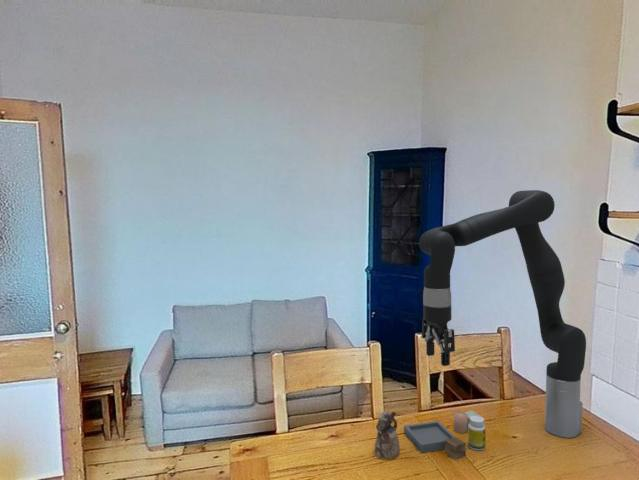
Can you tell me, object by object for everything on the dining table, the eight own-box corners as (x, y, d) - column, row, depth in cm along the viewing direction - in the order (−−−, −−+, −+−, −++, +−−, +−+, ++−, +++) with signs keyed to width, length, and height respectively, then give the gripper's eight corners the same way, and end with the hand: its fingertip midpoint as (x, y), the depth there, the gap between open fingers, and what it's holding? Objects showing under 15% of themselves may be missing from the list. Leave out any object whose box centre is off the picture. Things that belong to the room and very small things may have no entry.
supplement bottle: (486, 451, 132) (486, 423, 131) (468, 450, 133) (469, 422, 132) (483, 443, 137) (484, 415, 136) (467, 441, 138) (467, 414, 137)
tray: (438, 428, 146) (438, 420, 146) (458, 447, 135) (458, 439, 135) (403, 433, 143) (403, 425, 143) (421, 453, 132) (421, 444, 132)
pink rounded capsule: (464, 427, 146) (464, 411, 146) (469, 433, 142) (469, 417, 142) (451, 427, 146) (452, 411, 146) (456, 433, 142) (456, 417, 142)
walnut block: (455, 449, 134) (455, 436, 133) (465, 456, 130) (465, 442, 130) (444, 453, 132) (444, 439, 131) (455, 460, 128) (455, 446, 128)
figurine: (372, 447, 136) (371, 407, 135) (396, 445, 136) (396, 405, 135) (377, 460, 129) (377, 418, 127) (402, 459, 129) (402, 417, 128)
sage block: (472, 422, 149) (472, 410, 149) (482, 429, 145) (482, 417, 144) (461, 424, 148) (461, 412, 148) (471, 432, 143) (471, 419, 143)
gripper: (463, 307, 123) (463, 367, 124) (436, 296, 136) (437, 350, 138) (437, 310, 121) (438, 370, 122) (413, 298, 135) (414, 353, 136)
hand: (437, 360), depth 130 cm, fingers open, 8 cm apart
